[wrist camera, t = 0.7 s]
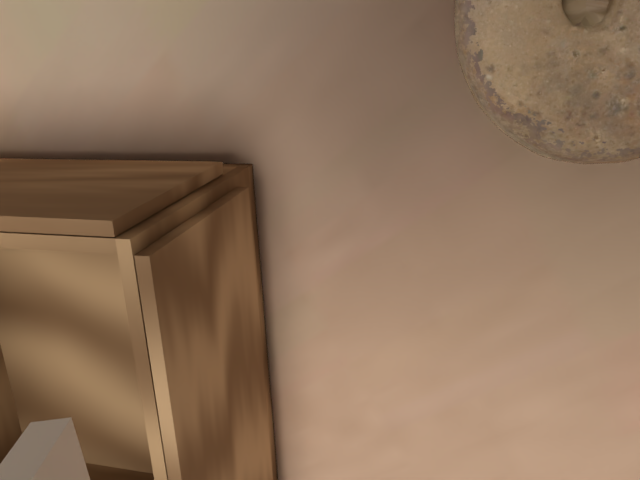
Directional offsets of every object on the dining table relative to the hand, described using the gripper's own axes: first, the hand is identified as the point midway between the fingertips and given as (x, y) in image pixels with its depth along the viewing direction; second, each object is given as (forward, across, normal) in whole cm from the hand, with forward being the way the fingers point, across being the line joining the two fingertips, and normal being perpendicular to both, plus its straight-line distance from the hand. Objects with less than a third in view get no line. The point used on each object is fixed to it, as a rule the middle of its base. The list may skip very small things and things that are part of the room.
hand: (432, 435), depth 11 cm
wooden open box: (+19, -13, -6) cm, 24 cm away
